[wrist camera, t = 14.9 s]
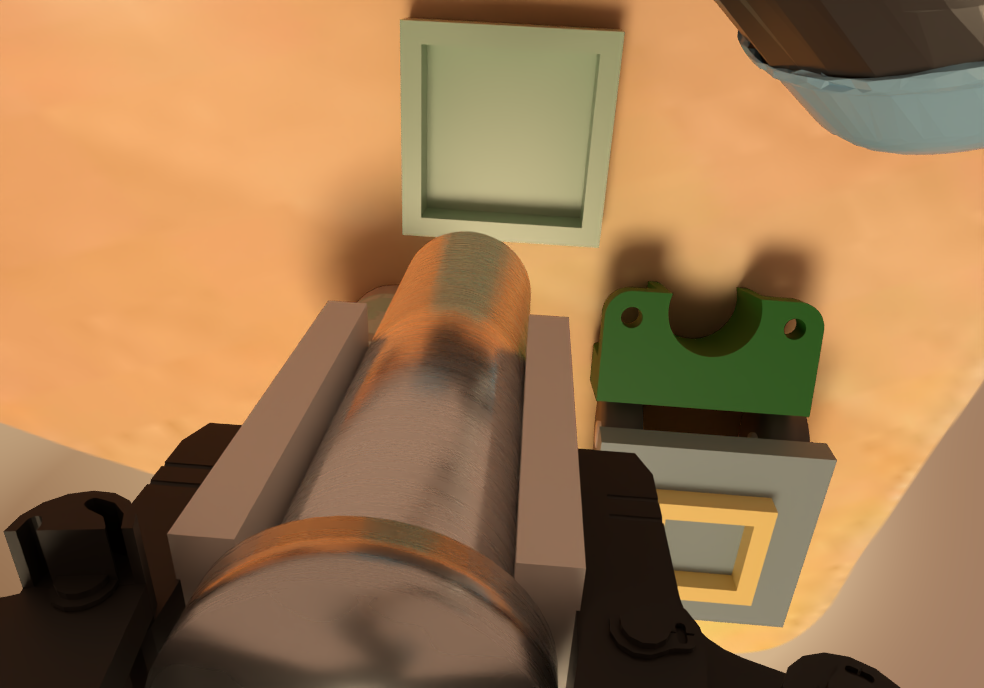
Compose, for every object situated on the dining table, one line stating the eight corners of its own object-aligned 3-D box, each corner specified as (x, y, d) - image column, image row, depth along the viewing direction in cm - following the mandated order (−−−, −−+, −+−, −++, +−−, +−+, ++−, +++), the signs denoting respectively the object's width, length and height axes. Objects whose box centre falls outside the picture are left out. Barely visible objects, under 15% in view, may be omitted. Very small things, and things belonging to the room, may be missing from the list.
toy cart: (593, 365, 43) (604, 447, 35) (793, 379, 43) (848, 466, 35) (572, 530, 49) (578, 632, 41) (748, 544, 49) (786, 650, 41)
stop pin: (383, 205, 17) (106, 571, 6) (558, 216, 17) (581, 613, 6) (386, 359, 19) (176, 844, 8) (543, 371, 19) (541, 881, 8)
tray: (409, 17, 35) (399, 19, 33) (619, 28, 35) (624, 31, 33) (410, 221, 40) (402, 234, 38) (595, 233, 39) (598, 247, 37)
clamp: (738, 278, 45) (854, 304, 36) (725, 370, 46) (835, 415, 38) (567, 276, 41) (654, 304, 32) (558, 376, 42) (640, 428, 34)
